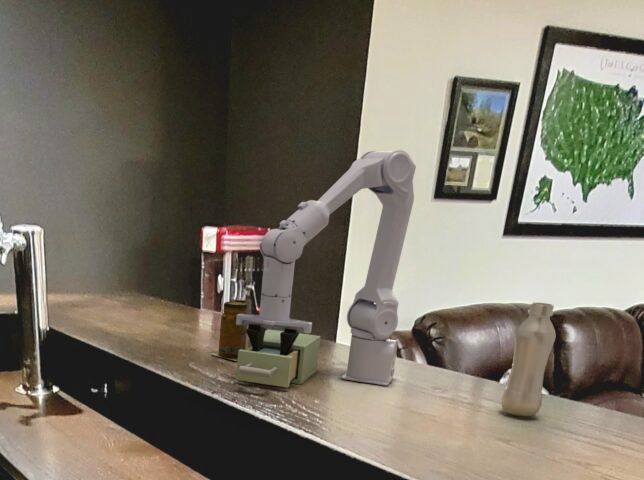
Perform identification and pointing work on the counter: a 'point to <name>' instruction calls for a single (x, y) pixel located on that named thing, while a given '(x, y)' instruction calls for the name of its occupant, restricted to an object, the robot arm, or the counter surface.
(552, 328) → the plastic bottle
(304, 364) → the green drawer cabinet
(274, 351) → the light blue cube
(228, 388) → the counter surface
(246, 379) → the green drawer
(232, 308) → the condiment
